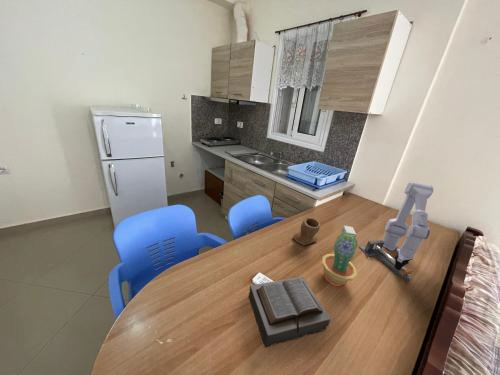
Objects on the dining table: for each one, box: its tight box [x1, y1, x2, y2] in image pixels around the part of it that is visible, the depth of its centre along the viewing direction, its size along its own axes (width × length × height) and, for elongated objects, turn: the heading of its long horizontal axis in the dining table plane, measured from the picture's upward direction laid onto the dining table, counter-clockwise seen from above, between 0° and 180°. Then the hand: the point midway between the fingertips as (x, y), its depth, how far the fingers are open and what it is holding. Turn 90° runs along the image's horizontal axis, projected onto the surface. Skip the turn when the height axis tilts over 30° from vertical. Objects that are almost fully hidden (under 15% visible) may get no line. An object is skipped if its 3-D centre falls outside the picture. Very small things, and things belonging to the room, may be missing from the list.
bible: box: [248, 276, 332, 348], centre depth 74 cm, size 23×27×10 cm
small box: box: [339, 225, 357, 238], centre depth 119 cm, size 8×6×10 cm
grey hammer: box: [358, 239, 412, 284], centre depth 109 cm, size 12×26×7 cm, turn 14°
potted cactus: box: [321, 232, 359, 287], centre depth 90 cm, size 15×15×25 cm
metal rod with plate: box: [375, 245, 414, 275], centre depth 107 cm, size 6×20×3 cm, turn 14°
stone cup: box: [292, 217, 321, 246], centre depth 117 cm, size 15×12×15 cm
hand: (398, 267), depth 103 cm, fingers closed on metal rod with plate, 3 cm apart
